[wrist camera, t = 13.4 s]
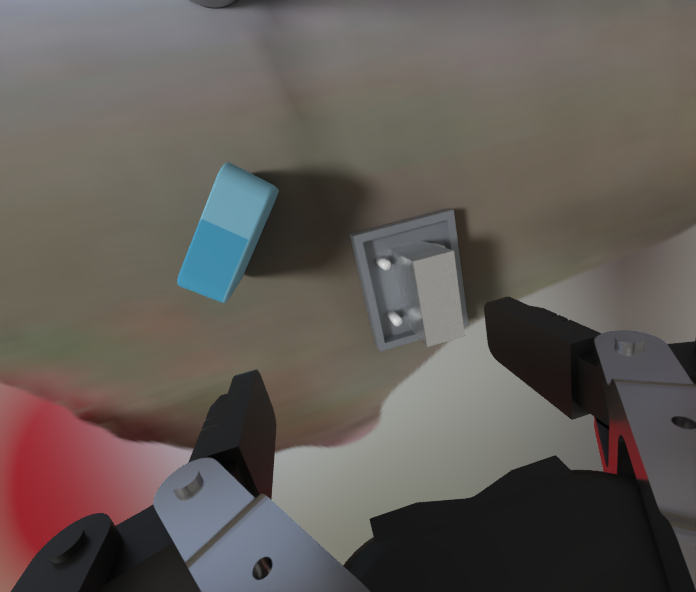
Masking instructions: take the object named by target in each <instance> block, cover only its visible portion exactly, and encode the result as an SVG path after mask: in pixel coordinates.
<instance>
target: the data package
mask: <svg viewBox="0 0 696 592" xmlns="http://www.w3.org/2000/svg"><path fill="white" fill-rule="evenodd" d="M278 193H279V189H278V188H277V187H275V186H274V185H272V184H271V183H269V182H267V181H265V180H263V179H261V178H259V177H257V176H255V175H253V174H251V173H249V172H247V171H245V170H243V169H241V168H239V167H237V166H235V165H233V164H231V163H225V164H224V165H223V166H222V168H221V169H220V171H219V173H218V175H217V177H216V180H215V183H214V185H213V188H212V190H211V193H210V195H209V198H208V201H207V203H206V206H205V208H204V211H203V213H202V216H201V219H200V221H199V224H198V226H197V229H196V232H195V234H194V237H193V239H192V242H191V244H190V247H189V250H188V252H187V255H186V257H185V260H184V262H183V265H182V268H181V270H180V273H179V276H178V281H177V283H178V285H179V286H181V287H183V288H186V289H188V290H191V291H194V292H196V293H199V294H201V295H204V296H206V297H209V298H212V299H214V300H217V301H219V302H222V303H226V302H227V301H228V299H229V297H230V296H231V294H232V293H233V291H234V290H235V288H236V287H237V285H238V284H239V282H240V280H241V279H242V277H243V275H244V272H245V270H246V268H247V266H248V263H249V261H250V259H251V256H252V254H253V252H254V249H255V247H256V245H257V242H258V240H259V238H260V235H261V233H262V231H263V228H264V226H265V224H266V221H267V219H268V217H269V214H270V212H271V210H272V207H273V205H274V203H275V200H276V198H277V195H278Z"/></svg>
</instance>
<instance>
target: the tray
mask: <svg viewBox="0 0 696 592" xmlns="http://www.w3.org/2000/svg"><path fill="white" fill-rule="evenodd" d="M349 235H350V239H351V243H352V248H353V252H354V256H355V261H356V265H357V269H358V274H359V278H360V282H361V286H362V291H363V295H364V299H365V304H366V308H367V312H368V317H369V321H370V325H371V330H372V334H373V338H374V342H375V345H376V347H377V348H378V350H379V352H380V351H384V350H387V349H390V348H394V347H397V346H401V345H404V344H407V343H411V342H414V341H418V340H421V339H420V338H419V337H418V336H417V335H416V334H415V333H414V332H413V331H412V330H411V329H410V327H409V326H408V325H407V324H406V323H405V322H404V321H403V320H402V317H401V312H400V306H399V301H398V296H397V291H396V285H395V280H394V275H393V270H392V264H391V259H390V254H389V249H391V248H395V247H398V246H402V245H406V244H410V243H414V242H418V241H421V240H422V241H425V242H428V243H431V244H434V245H438V246H441V247H444V248H447V249H450V250H453V251H454V255H455V263H456V271H457V279H458V286H459V294H460V302H461V310H462V318H463V326H464V327H465V326H468V317H467V309H466V302H465V294H464V286H463V278H462V270H461V262H460V255H459V247H458V239H457V231H456V223H455V216H454V210H450V209H443V210H439V211H435V212H431V213H427V214H424V215H420V216H416V217H412V218H408V219H404V220H401V221H397V222H393V223H389V224H385V225H382V226H378V227H374V228H370V229H366V230H362V231H359V232H355V233H351V234H349Z"/></svg>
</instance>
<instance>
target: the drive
mask: <svg viewBox="0 0 696 592" xmlns="http://www.w3.org/2000/svg"><path fill="white" fill-rule="evenodd" d="M389 254H390V259H391V264H392V270H393V275H394V280H395V285H396V291H397V296H398V301H399V306H400V312H401V317H402V320H403V321H404V322H405V323H406V324H407V325H408V326H409V327H410V329H411V330H412V331H413V332H414V333H415V334H416V335H417V336H418V337H419V338H420V339H421V341H422V342H423V343H424V344H425V345H426V346H427V347H429V346H433V345H436V344H439V343H443V342H446V341H450V340H453V339H457V338H460V337H463V336H465V334H464V326H463V318H462V310H461V302H460V294H459V286H458V279H457V271H456V263H455V255H454V251H453V250H450V249H447V248H444V247H441V246H438V245H434V244H431V243H428V242H425V241H422V240H421V241H418V242H414V243H410V244H406V245H402V246H398V247H395V248H391V249H389Z"/></svg>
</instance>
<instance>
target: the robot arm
mask: <svg viewBox="0 0 696 592" xmlns="http://www.w3.org/2000/svg"><path fill="white" fill-rule="evenodd" d="M190 1H191V2H194V3H196V4H199V5H201V6H206V7H211V8H214V7H223V6H226V5H229V4H231V3H233V2H234V1H236V0H190ZM484 313H485V322H486V331H487V340H488V346H489V349H490V352H491V353H492V355H493V357H494V358H495V359H496V360H497V361H498V362H499V363H501V364H502V365H503V366H504V367H506V368H507V369H508V370H510V371H511V372H512V373H513V374H515V375H516V376H517V377H519V378H520V379H521V380H522V381H523V382H525V383H526V384H527V385H528V386H530V387H531V388H533V389H534V390H535V391H536V392H538V393H539V394H540V395H541V396H543V397H544V398H545V399H546V400H548V401H549V402H550V403H551V404H553V405H554V406H555V407H557V408H558V409H559V410H560V411H562V412H563V413H564V414H565V415H567V416H568V417H569V418H570V419H572V420H573V419H576V418H579V417H582V416H584V415H588V414H592V415H593V416H594V429H595V435H596V439H597V443H598V449H599V453H600V458H601V462H602V467H603V472H602V471H592V470H570V469H569V468H568V467H567V466H566V465H565V464H564V463H563V462H562V461H561V460H560V459H559V458H558V457H557V456H552V457H549V458H546V459H543V460H540V461H537V462H535V463H532V464H529V465H526V466H523V467H520V468H517V469H514V470H511V471H510V472H508V473H507V474H506V475H504V476H503V477H502V478H500V479H498V480H497V481H496V482H494V483H493V484H492V485H490V486H489V487H487V488H486V489H484V490H483V491H482V492H480V493H479V494H477V495H475V496H474V497H471V498H466V499H455V500H443V501H431V502H418V503H414V504H411V505H409V506H406V507H403V508H400V509H397V510H394V511H391V512H388V513H385V514H382V515H379V516H376V517H373V518H371V519H370V523H371V527H372V531H373V535H374V537H373V538H372V539H370V540H368V541H367V542H366V543H364V544H363V545H362V546H361V547H360V548H359V549H358V550H356V551H355V552H354V553H353V555H352V556H351V557H350V558H349V559H348V560H347V561H346V562H345V564H344V565H341V564H340V563H339V562H338V561H337V560H336V559H335V558H334V557H333V556H332V555H331V554H330V553H328V552H327V551H326V550H325V549H324V548H323V547H322V546H320V544H319V543H318V542H316V541H315V540H314V539H313V538H312V537H311V536H310V535H309V534H308V533H307V532H306V531H305V530H303V529H302V528H301V527H300V526H299V525H298V524H297V523H296V522H295V521H294V520H293V519H291V518H290V517H289V516H288V515H287V514H286V513H285V512H284V511H283V510H282V509H281V508H280V507H278V506H277V505H276V504H275V503H274V502H273V501H272V500H271V497H272V483H273V468H274V454H275V440H276V418H275V414H274V410H273V407H272V404H271V401H270V399H269V396H268V393H267V391H266V388H265V385H264V383H263V380H262V377H261V375H260V373H259V371H258V370H253V371H250V372H246V373H243V374H239V375H236V376H234V377H233V379H232V382H231V385H230V388H229V391H228V394H224V395H221V396H220V397H219V398H218V399H217V400H216V401H215V403H214V404H213V405H212V406H211V407H210V409H209V412H208V414H207V417H206V421H205V422H204V424H203V427H202V431H201V432H200V435H199V437H198V440H197V442H196V445H195V447H194V450H193V452H192V455H191V457H190V460H189V463H187V464H185V465H183V466H182V467H180V468H179V469H177V470H176V471H175V472H173V473H172V474H171V475H170V476H169V477H168V478H167V479H166V480H165V481H164V482H163V483H162V485H161V486H160V487H159V489H158V491H157V493H156V495H155V497H154V504H153V505H152V506H150V507H148V508H147V509H145V510H143V511H141V512H140V513H138V514H136V515H134V516H132V517H131V518H129V519H127V520H125V521H124V522H122V523H120V524H118V525H116V526H115V525H114V523H113V522H112V520H111V519H110V517H109V516H108V515H107V514H104V513H97V514H92V515H89V516H86V517H84V518H82V519H80V520H78V521H76V522H74V523H72V524H71V525H69V526H68V527H66V528H65V529H63V530H62V531H61V532H59V533H58V534H57V535H56V536H54V537H53V538H52V539H51V540H50V541H49V542H48V543H47V544H46V545H45V546H44V547H43V548H42V549H41V550H40V551H39V552H38V553H37V554H36V556H35V557H34V558H33V560H32V561H31V562H30V564H29V565H28V567H27V568H26V570H25V571H24V573H23V574H22V576H21V577H20V579H19V580H18V582H17V583H16V585H15V586H14V588H13V589H12V591H11V592H696V340H695V341H694V342H684V343H674V344H667V343H665V342H664V341H663V340H662V339H660V338H658V337H656V336H653V335H650V334H647V333H643V332H637V331H626V330H620V331H619V330H618V331H609V332H605V333H602V334H601V333H599V332H597V331H595V330H592V329H590V328H588V327H585V326H583V325H581V324H578V323H576V322H574V321H572V320H568V319H567V318H565V317H562V316H560V315H558V316H557V314H556V313H553V312H551V311H549V310H546V309H544V308H539V307H534V306H529V305H526V304H524V303H522V302H520V301H518V300H515V299H513V298H511V297H504V298H501V299H497V300H494V301H491V302H487V303H486V304H485V307H484Z"/></svg>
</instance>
